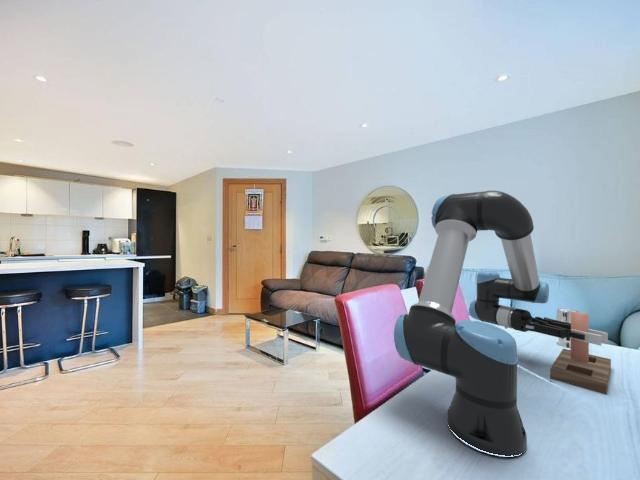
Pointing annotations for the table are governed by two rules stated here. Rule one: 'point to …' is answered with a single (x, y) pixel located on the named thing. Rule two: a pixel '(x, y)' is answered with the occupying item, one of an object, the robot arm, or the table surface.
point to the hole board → (582, 372)
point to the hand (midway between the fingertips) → (603, 339)
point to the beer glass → (564, 316)
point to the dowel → (579, 347)
